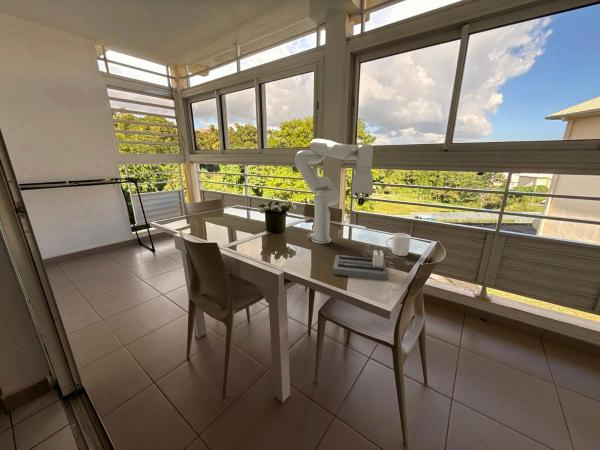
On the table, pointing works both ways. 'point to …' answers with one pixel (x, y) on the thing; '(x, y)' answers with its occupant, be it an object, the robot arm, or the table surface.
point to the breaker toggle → (378, 258)
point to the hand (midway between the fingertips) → (360, 205)
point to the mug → (400, 244)
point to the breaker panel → (359, 267)
